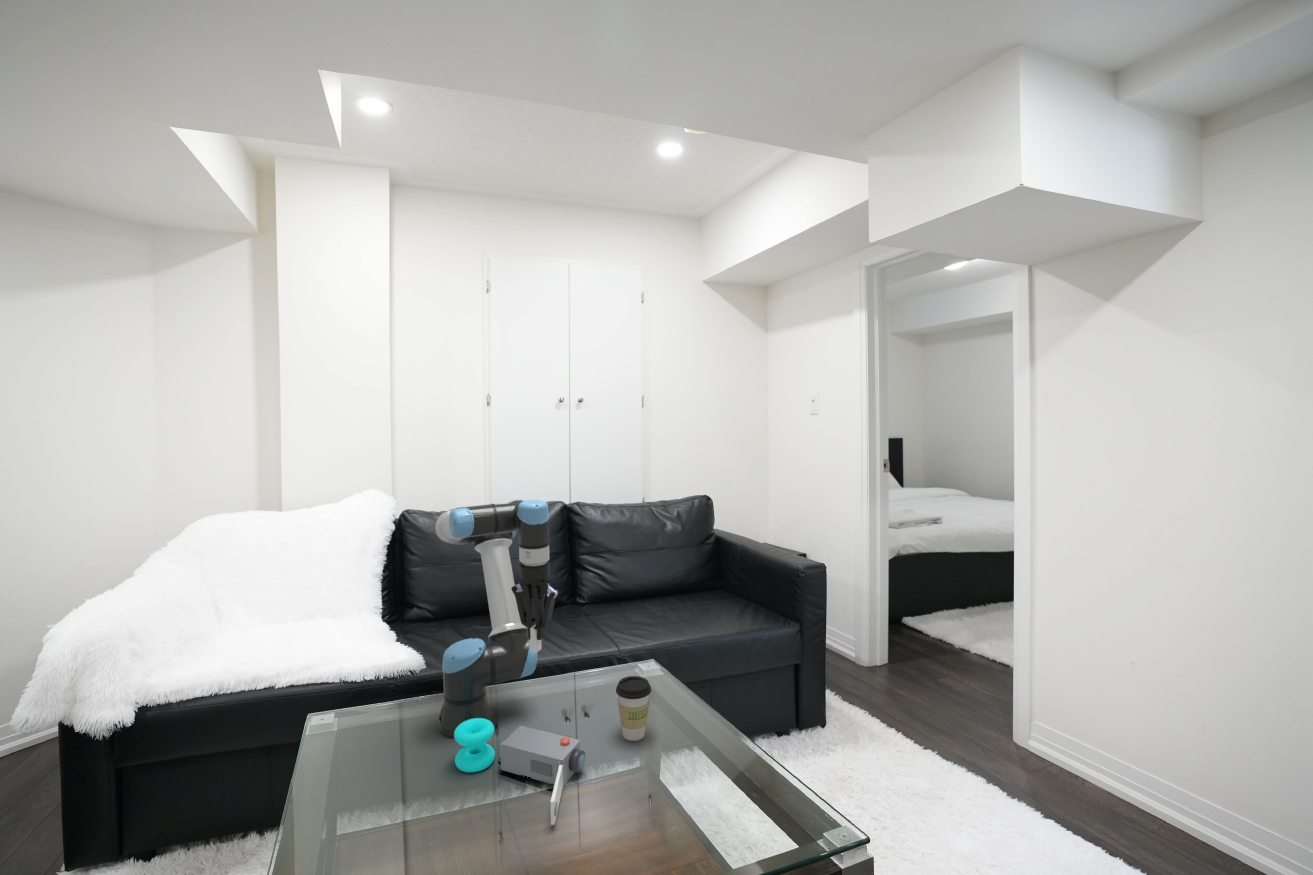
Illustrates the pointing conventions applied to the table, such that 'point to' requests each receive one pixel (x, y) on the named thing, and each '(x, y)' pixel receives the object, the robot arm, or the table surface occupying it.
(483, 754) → the donuts
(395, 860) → the table surface
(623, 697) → the coffee cup
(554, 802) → the side door
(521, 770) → the grey boxy piece
